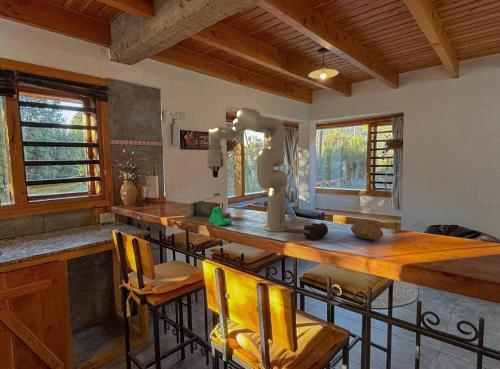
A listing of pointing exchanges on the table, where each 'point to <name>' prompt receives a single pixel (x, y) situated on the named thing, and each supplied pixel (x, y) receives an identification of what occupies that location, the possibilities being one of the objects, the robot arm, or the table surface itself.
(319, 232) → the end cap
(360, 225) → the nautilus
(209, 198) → the level plate
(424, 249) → the table surface
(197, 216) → the leveling stand
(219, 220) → the camera mount
